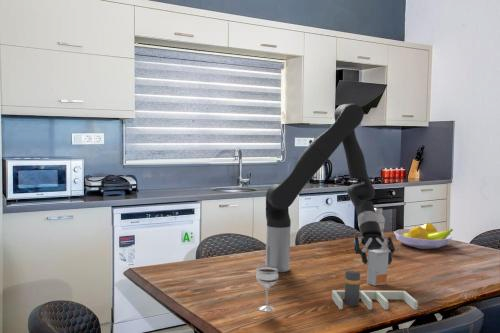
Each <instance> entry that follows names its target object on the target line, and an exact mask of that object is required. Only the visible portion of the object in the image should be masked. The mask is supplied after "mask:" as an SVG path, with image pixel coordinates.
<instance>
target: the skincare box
mask: <svg viewBox="0 0 500 333" xmlns="http://www.w3.org/2000/svg"><path fill="white" fill-rule="evenodd" d="M367 251H368V253H367V261H368V262H367V272H366V283H367V284H369V285H371V286H382V285H387V284H388V271H389V270H388V269H389V267H388V266H389V265H388V255H389V251H386V250H383V249H374V250H369V249H368V250H367Z"/></svg>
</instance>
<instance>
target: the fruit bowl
mask: <svg viewBox="0 0 500 333" xmlns="http://www.w3.org/2000/svg"><path fill="white" fill-rule="evenodd" d="M453 231H454V229H453V228H450V229H449V230H440V231H438V230H437V227H436V226H435V225H433V223H432V222H431V223H430V222H427V223H424V224H423V225H420V226H417V225H416V226H414V227H412V228H410V229H409V228H404V229H402V228H401V229H397V230H395V231H393V233H394V235H395V238H396V239H397V241H399V242H401V243H403V244H404V245H406V246H409V247H413V248H416V249H420V250H421V249H422V250H425V249H427V250H429V249H438V248H441V247H443V246H447V245H449V243H450V242H451V240H452V238H453V236H452V235H451V232H453Z"/></svg>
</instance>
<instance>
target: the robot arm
mask: <svg viewBox="0 0 500 333" xmlns="http://www.w3.org/2000/svg"><path fill="white" fill-rule="evenodd" d="M364 114H365V113H364V109H363V107H362V106H360V105H359V104H357V103H344V104H341V105H338V107H337V108H336V109H335V110H334V116H333V117H334V122H333V124H332V125H331V126H330V127H328V129H327V130H326V131H324V132H323V133H321V134H320V135H319V136H317V137H316V138H314V139H313V140H312V141H311V142H310V143H309V145H308V146H307V147H306V148H305V149H304V150H303V151H302V152H301V154H300V156H299V157H298V159H297V161H296V163H295V165H294V167H293V169H292V171H291V172H290V174H288V176H287V177H286V178H284V180H283V181H282V182H281V183H274V184H272V185H271V186H270V187H268V189H267V190H266V193H265V194H266V195H265V218H266V239H265V240H266V241H265V242H266V243H265V260H264V261H265V262H264V264H265V265H264V266H272V267H276V268H278V269H279V270H278V272H277V273H286V272H288V271H290V257H291V256H290V254H291V229H292V228H291V223H292V222H291V220H292V219H291V218H290V214H289V207H291V205H292V204H294V201H295V200H296V199H297V197H298V196H299V194H300V193H301V191H302V190H303V189H304V187H305V186H306V184H308V182H310V180H311V179H312V178H313V177H314V176H315V175H316V174H317V172H318V171H319V170H320V169H321V168H322V167H323V166H324V165H325V163H326V162H327V161H328V160H329V158H330V157H331V156H332V155H333V154H334V153H335V151H336V150H337V149H338V148H339V146H340V145H341V144H342V145H343V149H344V153H345V158H346V164H347V170H348V176H349V178H350V179H352V180H361V181H363V182H361V183H355V184H351V185H349V186H348V188H347V195H348V198H349V200H350V202H351V203H352V205H353V206H354V209H355V212H356V216H357V223H358V225H357V226H358V228H359V233H360V237H361V238H359V237H358V236H355V237H354V239H353V248H354V253H355V254H356V255H359V256H360V257H361V262H362V264H363V265H368V255H367V251H369V250H374V249H383V250H386V251H389V255H388V266H389V265H391V264H392V262H393V257H392V255H394V253H395V251H396V249H395V245H394V241H393V239H392V237H391V236H389V237H387V238H384V239H383V237H384V236H383V237H382V234H381V230H380V226H379V222H378V219H377V216H376V213H375V209H374V208H375V206H374V203H373V202H372V201H370V200H372V199H373V198H374V197H375V194H376V191H375V187H374V185H373V183H372V182H371V180H370V178H369V174H368V171H367V165H366V160H365V156H364V152H363V151H362V148H361V146H360V143H359V141H358V139H357V135H356V131H355V129H356V128H358V126H360V125H361V123H362V121H363V119H364ZM383 242H384V243H383ZM360 244H362V245H363V248H362V249H361V247H360ZM381 246H382V248H381Z"/></svg>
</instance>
